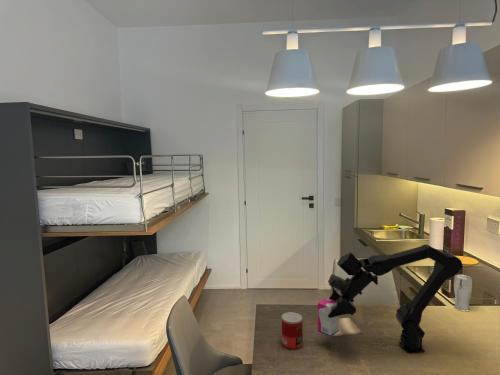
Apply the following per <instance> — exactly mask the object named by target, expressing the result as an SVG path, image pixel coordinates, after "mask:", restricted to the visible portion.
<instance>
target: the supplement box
mask: <svg viewBox="0 0 500 375" xmlns="http://www.w3.org/2000/svg"><path fill="white" fill-rule="evenodd" d="M335 306H336V301H333V300H330V299H329V298H326V297H325V298H324V299H322V300H320V301H318V302H317V332H318V333H320V334H323V335H325V336H327V337H333V336H332V335H334V334H335V333H337V332H338V331H339V318H340V316H336V317H332V318H329V317H328V315H329V313H330V312H331V311H332V310H333V308H334V307H335Z"/></svg>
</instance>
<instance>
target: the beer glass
mask: <svg viewBox="0 0 500 375" xmlns="http://www.w3.org/2000/svg"><path fill="white" fill-rule="evenodd" d="M453 291H454V296H455V300H454V301H455V302H454V306H453V308H454V309H455V308H456V309H458V310H457V311H459V310H465V311H466V310H471V309H470V299H471V295H472V291H473V277H471V276H469V275H465V274H459V273H457V274H456V275H455V276H454V281H453ZM456 309H455V310H456Z"/></svg>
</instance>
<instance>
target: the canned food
mask: <svg viewBox="0 0 500 375" xmlns="http://www.w3.org/2000/svg"><path fill="white" fill-rule="evenodd" d="M303 321H304V320H303V316H302V315H301V314H299V313H297V312H284V313H282V315H281V343H282V347H285V348H286V349H288V350H298V349H301V347H302V346H303V342H304V341H303V338H304V337H303V334H304V333H303V330H304V329H303V327H304V326H303Z"/></svg>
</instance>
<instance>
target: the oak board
mask: <svg viewBox="0 0 500 375" xmlns="http://www.w3.org/2000/svg"><path fill="white" fill-rule="evenodd" d="M347 335H348V336H349V335H362V331H361V329H359V328H358V327H357V325H356V324H355V323H354V322H353V320H352V319H351V318H350V317H342V318H340V317H339V331H338V332H337V333H335V334H334V335H332V336H331V337H340V336H347Z"/></svg>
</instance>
